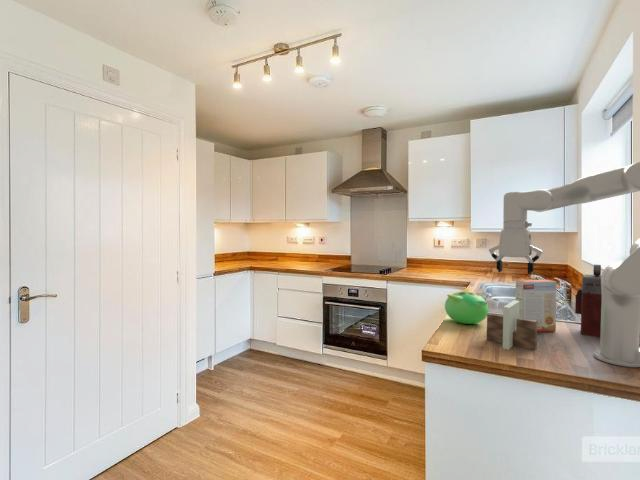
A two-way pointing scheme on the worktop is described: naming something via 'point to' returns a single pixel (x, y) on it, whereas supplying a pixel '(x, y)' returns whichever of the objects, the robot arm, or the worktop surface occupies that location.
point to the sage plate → (509, 323)
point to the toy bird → (466, 307)
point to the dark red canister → (590, 303)
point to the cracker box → (537, 302)
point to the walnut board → (521, 337)
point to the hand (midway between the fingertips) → (514, 272)
